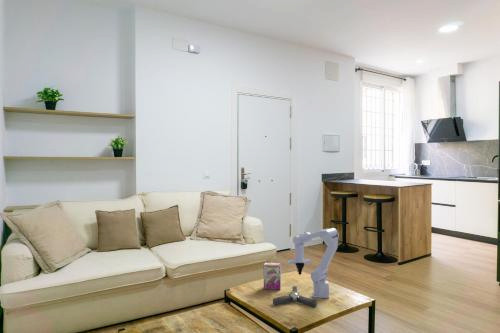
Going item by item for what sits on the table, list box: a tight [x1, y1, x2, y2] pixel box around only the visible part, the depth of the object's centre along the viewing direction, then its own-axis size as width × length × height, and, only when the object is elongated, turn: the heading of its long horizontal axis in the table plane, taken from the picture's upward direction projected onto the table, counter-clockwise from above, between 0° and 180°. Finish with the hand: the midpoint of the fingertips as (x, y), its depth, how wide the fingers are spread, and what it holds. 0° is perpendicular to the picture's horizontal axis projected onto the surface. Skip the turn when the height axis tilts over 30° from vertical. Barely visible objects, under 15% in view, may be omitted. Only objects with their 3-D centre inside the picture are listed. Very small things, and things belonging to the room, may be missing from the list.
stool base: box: [272, 291, 318, 309], centre depth 196 cm, size 26×11×4 cm, turn 81°
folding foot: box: [291, 285, 298, 292], centre depth 207 cm, size 11×3×3 cm, turn 173°
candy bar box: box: [262, 262, 282, 291], centre depth 218 cm, size 11×5×16 cm, turn 78°
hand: (299, 274), depth 217 cm, fingers closed
